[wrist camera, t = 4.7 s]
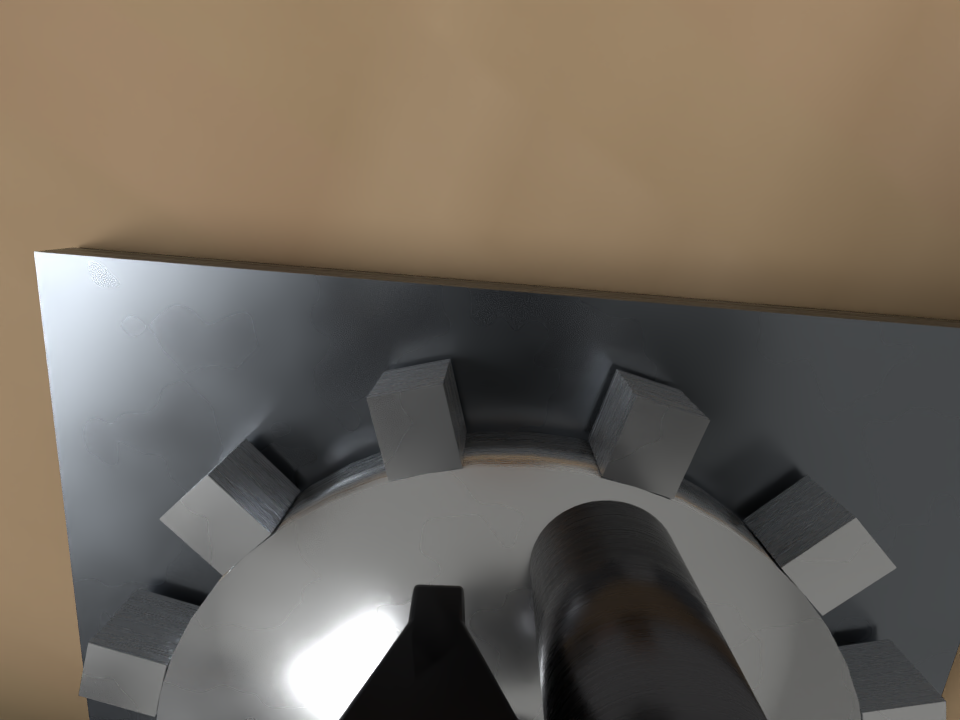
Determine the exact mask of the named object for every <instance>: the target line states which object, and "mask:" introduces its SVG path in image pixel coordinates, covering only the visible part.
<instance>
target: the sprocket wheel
mask: <svg viewBox="0 0 960 720" xmlns="http://www.w3.org/2000/svg"><path fill="white" fill-rule="evenodd" d="M366 399H367V403H368V407H369V410H370V414H371V418H372V421H373V425H374V429H375V433H376V436H377V440H378V444H379V448H380V451H381V452H379V453H377V454H374V455H372V456H369V457H367V458H364V459H361V460H359V461H356V462H354V463H351V464H349V465H347V466H345V467H343V468H341V469H340V470H338V471H336V472H334V473H332V474H331V475H329V476H327V477H325V478H323V479H322V480H320V481H318V482H316V483H314V484H312V485H311V486H310V487H308V488H307V489H306V490H304V491H303V492H302V493H300V494H299V492H300V490H299V489H298V488H297V487H296V486H295V485H294V484H293V483H292V482H291V481H290V480H289V479H288V478H287V477H286V476H285V475H284V474H283V473H282V472H280V471H279V470H278V469H277V468H276V467H275V466H274V465H273V464H272V463H271V462H270V461H269V460H268V459H267V458H266V457H265V456H264V455H263V454H262V453H261V452H260V451H258V450H257V449H256V448H255V447H254V446H253V445H252V444H251V443H250V442H249V441H248V440H247V439H245V440H244V441H243V442H242V443H241V444H240V445H238V446H237V447H236V448H235V449H234V450H233V451H232V452H231V453H230V454H229V455H228V456H226V457H225V458H224V459H223V460H222V461H221V462H220V463H219V464H218V465H217V466H215V467H214V468H213V469H212V470H211V471H210V472H209V473H208V474H207V475H206V476H204V477H203V478H202V479H201V480H200V481H199V482H198V483H197V484H196V485H195V486H194V487H193V488H192V489H191V490H190V491H188V492H187V493H186V494H185V495H184V496H183V497H182V498H181V499H180V500H179V501H178V502H177V503H176V504H175V505H174V506H172V507H171V508H170V509H169V510H168V511H167V512H166V513H165V514H164V515H163V516H162V517H161V518H160V520H161V521H162V522H163V523H164V524H165V525H166V526H167V527H169V528H170V529H171V530H172V531H173V532H174V533H175V534H176V535H178V536H179V537H180V538H181V539H182V540H183V541H184V542H185V543H187V544H188V545H189V546H190V547H191V548H192V549H193V550H194V551H195V552H197V553H198V554H199V555H200V556H201V557H202V558H203V559H204V560H206V561H207V562H208V563H209V564H210V565H211V566H212V567H213V568H215V569H216V570H217V571H218V572H219V573H220V574H221V575H222V577H221V579H220V580H219V581H218V583H217V584H216V585H215V587H214V588H213V590H212V591H211V592H210V594H209V595H208V596H207V598H206V599H205V600H204V602H203V603H202V605H201V606H197V605H194V604H190V603H187V602H183V601H180V600H177V599H173V598H170V597H166V596H163V595H159V594H156V593H153V592H149V591H146V590H142V589H138V590H137V591H136V592H135V593H134V594H133V595H132V596H131V597H130V598H129V599H128V600H127V602H126V603H125V604H124V605H123V606H122V607H121V608H120V609H119V610H118V611H117V612H116V613H115V615H114V616H113V617H112V618H111V619H110V620H109V621H108V622H107V623H106V624H105V625H104V626H103V627H102V629H101V630H100V631H99V632H98V633H97V634H96V635H95V636H94V637H93V638H92V639H91V640H90V642H89V643H88V647H87V652H86V658H85V663H84V668H83V674H82V679H81V685H80V690H79V696H82V697H85V698H89V699H92V700H96V701H100V702H103V703H107V704H110V705H114V706H117V707H121V708H125V709H128V710H132V711H135V712H139V713H142V714H146V715H150V716H153V717H155V716H156V714H157V720H339V718H340V717H341V716H342V714H343V713H344V711H345V710H346V709H347V707H348V706H349V704H350V703H351V702H352V700H353V699H354V697H355V696H356V695H357V693H358V692H359V690H360V689H361V688H362V686H363V685H364V683H365V682H366V681H367V679H368V678H369V676H370V675H371V674H372V672H373V671H374V669H375V668H376V667H377V665H378V664H379V662H380V661H381V660H382V658H383V657H384V655H385V654H386V653H387V651H388V650H389V648H390V647H391V646H392V644H393V643H394V641H395V640H396V639H397V637H398V636H399V634H400V633H401V632H402V630H403V629H404V627H405V626H406V625H407V623H408V619H409V613H410V606H411V600H412V593H413V588H414V587H415V586H416V585H418V584H427V585H455V586H461V587H463V589H464V598H465V625H466V627H467V629H468V630H469V632H470V634H471V636H472V638H473V639H474V641H475V643H476V645H477V647H478V648H479V650H480V652H481V654H482V656H483V657H484V659H485V661H486V663H487V665H488V666H489V668H490V670H491V672H492V674H493V675H494V677H495V679H496V681H497V683H498V684H499V686H500V688H501V690H502V691H503V693H504V695H505V697H506V699H507V700H508V702H509V704H510V706H511V708H512V709H513V711H514V713H515V715H516V717H517V718H518V720H946V701H945V700H944V699H943V697H942V696H941V695H940V694H939V693H938V692H937V691H936V690H935V689H934V688H933V686H932V685H931V684H930V683H929V682H928V681H927V680H926V679H925V678H924V677H923V675H922V674H921V673H920V672H919V671H918V670H917V669H916V668H915V667H914V665H913V664H912V663H911V662H910V661H909V660H908V659H907V658H906V657H905V656H904V654H903V653H902V652H901V651H900V650H899V649H898V648H897V647H896V646H895V645H894V643H893V642H892V641H891V640H890V639H885V640H878V641H872V642H865V643H858V644H851V645H844V646H837V644H836V642H835V640H834V638H833V636H832V634H831V632H830V630H829V628H828V627H827V625H826V624H825V623H824V621H823V620H822V618H821V617H820V616H819V614H818V613H817V612H816V610H815V609H814V608H813V606H812V605H811V604H810V602H811V603H812V604H813V605H814V607H815V608H816V609H817V610H818V611H819V612H820V613H821V615H822V616H823V615H824V614H826V613H828V612H829V611H831V610H832V609H834V608H835V607H837V606H838V605H840V604H841V603H843V602H845V601H846V600H848V599H849V598H851V597H852V596H854V595H855V594H857V593H859V592H860V591H862V590H863V589H865V588H866V587H868V586H869V585H871V584H872V583H874V582H876V581H877V580H879V579H880V578H882V577H883V576H885V575H886V574H888V573H890V572H891V571H893V570H894V569H896V566H895V565H894V564H893V563H892V561H891V560H890V559H889V558H888V556H887V555H886V554H885V553H884V551H883V550H882V549H881V548H880V547H879V545H878V544H877V543H876V542H875V540H874V539H873V538H872V537H871V535H870V534H869V533H868V532H867V531H866V529H865V528H864V527H863V526H862V524H861V523H860V522H859V521H858V519H857V518H856V517H855V516H854V515H852V514H851V513H850V512H849V511H848V510H847V509H846V508H844V507H843V506H842V505H841V504H840V503H839V502H838V501H836V500H835V499H834V498H833V497H832V496H831V495H829V494H828V493H827V492H826V491H825V490H824V489H823V488H821V487H820V486H819V485H818V484H817V483H816V482H815V481H813V480H812V479H811V478H810V477H809V476H808V475H806V476H805V477H803V478H802V479H801V480H799V481H798V482H796V483H795V484H793V485H792V486H791V487H789V488H788V489H786V490H785V491H783V492H782V493H781V494H779V495H778V496H776V497H775V498H774V499H772V500H771V501H769V502H768V503H766V504H765V505H764V506H762V507H761V508H759V509H758V510H756V511H755V512H754V513H752V514H751V515H749V516H748V517H746V518H745V519H744V521H745V523H746V524H747V525H748V526H749V528H750V529H751V530H752V531H753V532H752V531H751V530H750V529H749V528H748V527H747V526H746V525H745V524H744V523H743V522H742V521H741V520H740V519H739V518H738V517H737V516H736V515H735V514H734V513H733V512H732V511H730V510H729V509H728V508H726V507H725V506H724V505H722V504H721V503H720V502H718V501H717V500H716V499H714V498H713V497H712V496H710V495H709V494H708V493H706V492H705V491H704V490H702V489H701V488H700V487H698V486H696V485H695V484H693V483H691V482H689V481H687V480H686V479H684V476H685V473H686V471H687V469H688V467H689V465H690V463H691V461H692V458H693V456H694V454H695V452H696V450H697V448H698V446H699V443H700V441H701V439H702V437H703V435H704V433H705V431H706V428H707V426H708V424H709V422H710V420H709V419H708V418H707V417H706V416H705V415H704V414H703V413H702V412H701V411H700V410H699V409H698V408H697V407H696V406H695V405H694V404H693V403H692V402H691V401H690V400H689V399H688V398H687V397H686V396H685V394H684V393H683V392H682V391H681V390H679V389H675V388H672V387H669V386H666V385H663V384H660V383H657V382H654V381H651V380H648V379H645V378H642V377H639V376H636V375H633V374H630V373H627V372H624V371H621V370H618V369H616V372H615V374H614V377H613V379H612V381H611V384H610V386H609V389H608V391H607V394H606V396H605V398H604V401H603V403H602V406H601V408H600V411H599V413H598V415H597V418H596V420H595V423H594V425H593V428H592V430H591V433H590V435H589V437H588V441H585V440H581V439H577V438H572V437H564V436H556V435H548V434H540V433H532V432H474V433H467V431H466V426H465V422H464V417H463V413H462V409H461V404H460V400H459V395H458V391H457V386H456V382H455V378H454V373H453V369H452V364H451V360H450V359H445V360H440V361H435V362H429V363H424V364H419V365H414V366H409V367H404V368H398V369H393V370H388V371H384V372H383V374H382V375H381V377H380V378H379V380H378V382H377V383H376V385H375V386H374V388H373V389H372V391H371V392H370V394H369V395H368V397H367V398H366ZM298 494H299V495H298ZM805 596H806V597H807V598H808V599H807V598H806V597H805ZM808 600H809V601H810V602H809V601H808Z"/></svg>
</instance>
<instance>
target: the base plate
mask: <svg viewBox="0 0 960 720" xmlns="http://www.w3.org/2000/svg"><path fill="white" fill-rule="evenodd" d="M34 256H35V264H36V273H37V281H38V289H39V298H40V306H41V315H42V323H43V332H44V340H45V349H46V357H47V365H48V374H49V382H50V391H51V399H52V408H53V416H54V424H55V433H56V441H57V450H58V458H59V467H60V475H61V483H62V492H63V500H64V509H65V517H66V526H67V534H68V543H69V551H70V559H71V568H72V576H73V585H74V593H75V602H76V610H77V618H78V627H79V635H80V644H81V652H82V661H83V668H84V663H85V658H86V652H87V647H88V643H89V642H90V640H91V639H92V638H93V637H94V636H95V635H96V634H97V633H98V632H99V631H100V630H101V629H102V627H103V626H104V625H105V624H106V623H107V622H108V621H109V620H110V619H111V618H112V617H113V616H114V615H115V613H116V612H117V611H118V610H119V609H120V608H121V607H122V606H123V605H124V604H125V603H126V602H127V600H128V599H129V598H130V597H131V596H132V595H133V594H134V593H135V592H136V591H137V590H138V589H142V590H146V591H149V592H153V593H156V594H159V595H163V596H166V597H170V598H173V599H177V600H180V601H183V602H187V603H190V604H194V605H197V606H201V605H202V603H203V602H204V600H205V599H206V598H207V596H208V595H209V594H210V592H211V591H212V590H213V588H214V587H215V585H216V584H217V583H218V581H219V580H220V579H221V577H222V575H221V574H220V573H219V572H218V571H217V570H216V569H215V568H213V567H212V566H211V565H210V564H209V563H208V562H207V561H206V560H204V559H203V558H202V557H201V556H200V555H199V554H198V553H197V552H195V551H194V550H193V549H192V548H191V547H190V546H189V545H188V544H187V543H185V542H184V541H183V540H182V539H181V538H180V537H179V536H178V535H176V534H175V533H174V532H173V531H172V530H171V529H170V528H169V527H167V526H166V525H165V524H164V523H163V522H162V521H161V520H160V518H161V517H162V516H163V515H164V514H165V513H166V512H167V511H168V510H169V509H170V508H171V507H172V506H174V505H175V504H176V503H177V502H178V501H179V500H180V499H181V498H182V497H183V496H184V495H185V494H186V493H187V492H188V491H190V490H191V489H192V488H193V487H194V486H195V485H196V484H197V483H198V482H199V481H200V480H201V479H202V478H203V477H204V476H206V475H207V474H208V473H209V472H210V471H211V470H212V469H213V468H214V467H215V466H217V465H218V464H219V463H220V462H221V461H222V460H223V459H224V458H225V457H226V456H228V455H229V454H230V453H231V452H232V451H233V450H234V449H235V448H236V447H237V446H238V445H240V444H241V443H242V442H243V441H244V440H245V439H247V440H248V441H249V442H250V443H251V444H252V445H253V446H254V447H255V448H256V449H257V450H258V451H260V452H261V453H262V454H263V455H264V456H265V457H266V458H267V459H268V460H269V461H270V462H271V463H272V464H273V465H274V466H275V467H276V468H277V469H278V470H279V471H280V472H282V473H283V474H284V475H285V476H286V477H287V478H288V479H289V480H290V481H291V482H292V483H293V484H294V485H295V486H296V487H297V488H298V489H299V490H300V492H299V494H300V493H302V492H303V491H304V490H306V489H307V488H308V487H310V486H311V485H312V484H314V483H316V482H318V481H320V480H322V479H323V478H325V477H327V476H329V475H331V474H332V473H334V472H336V471H338V470H340V469H341V468H343V467H345V466H347V465H349V464H351V463H354V462H356V461H359V460H361V459H364V458H367V457H369V456H372V455H374V454H377V453H379V452H381V451H380V448H379V444H378V440H377V436H376V433H375V429H374V425H373V421H372V418H371V414H370V410H369V407H368V403H367V399H366V398H367V397H368V395H369V394H370V392H371V391H372V389H373V388H374V386H375V385H376V383H377V382H378V380H379V378H380V377H381V375H382V374H383V372H384V371H388V370H393V369H398V368H404V367H409V366H414V365H419V364H424V363H429V362H435V361H440V360H445V359H450V360H451V364H452V369H453V373H454V378H455V382H456V386H457V391H458V395H459V400H460V404H461V409H462V413H463V417H464V422H465V426H466V431H467V433H474V432H532V433H540V434H548V435H556V436H564V437H572V438H577V439H581V440H585V441H588V437H589V435H590V433H591V430H592V428H593V425H594V423H595V420H596V418H597V415H598V413H599V411H600V408H601V406H602V403H603V401H604V398H605V396H606V394H607V391H608V389H609V386H610V384H611V381H612V379H613V377H614V374H615V372H616V369H618V370H621V371H624V372H627V373H630V374H633V375H636V376H639V377H642V378H645V379H648V380H651V381H654V382H657V383H660V384H663V385H666V386H669V387H672V388H675V389H679V390H681V391H682V392H683V393H684V394H685V396H686V397H687V398H688V399H689V400H690V401H691V402H692V403H693V404H694V405H695V406H696V407H697V408H698V409H699V410H700V411H701V412H702V413H703V414H704V415H705V416H706V417H707V418H708V419H709V420H710V422H709V424H708V426H707V428H706V431H705V433H704V435H703V437H702V439H701V441H700V443H699V446H698V448H697V450H696V452H695V454H694V456H693V458H692V461H691V463H690V465H689V467H688V469H687V471H686V473H685V476H684V479H686V480H687V481H689V482H691V483H693V484H695V485H696V486H698V487H700V488H701V489H702V490H704V491H705V492H706V493H708V494H709V495H710V496H712V497H713V498H714V499H716V500H717V501H718V502H720V503H721V504H722V505H724V506H725V507H726V508H728V509H729V510H730V511H732V512H733V513H734V514H735V515H736V516H737V517H738V518H739V519H740V520H741V521H742V522H743V523H744V524H745V525H746V526H747V527H748V528H749V526H748V525H747V524H746V523H745V521H744V519H745V518H746V517H748V516H749V515H751V514H752V513H754V512H755V511H756V510H758V509H759V508H761V507H762V506H764V505H765V504H766V503H768V502H769V501H771V500H772V499H774V498H775V497H776V496H778V495H779V494H781V493H782V492H783V491H785V490H786V489H788V488H789V487H791V486H792V485H793V484H795V483H796V482H798V481H799V480H801V479H802V478H803V477H805V476H806V475H808V476H809V477H810V478H811V479H812V480H813V481H815V482H816V483H817V484H818V485H819V486H820V487H821V488H823V489H824V490H825V491H826V492H827V493H828V494H829V495H831V496H832V497H833V498H834V499H835V500H836V501H838V502H839V503H840V504H841V505H842V506H843V507H844V508H846V509H847V510H848V511H849V512H850V513H851V514H852V515H854V516H855V517H856V518H857V519H858V521H859V522H860V523H861V524H862V526H863V527H864V528H865V529H866V531H867V532H868V533H869V534H870V535H871V537H872V538H873V539H874V540H875V542H876V543H877V544H878V545H879V547H880V548H881V549H882V550H883V551H884V553H885V554H886V555H887V556H888V558H889V559H890V560H891V561H892V563H893V564H894V565H895V566H896V569H894V570H893V571H891V572H890V573H888V574H886V575H885V576H883V577H882V578H880V579H879V580H877V581H876V582H874V583H872V584H871V585H869V586H868V587H866V588H865V589H863V590H862V591H860V592H859V593H857V594H855V595H854V596H852V597H851V598H849V599H848V600H846V601H845V602H843V603H841V604H840V605H838V606H837V607H835V608H834V609H832V610H831V611H829V612H828V613H826V614H824V615H823V616H822V615H821V613H820V612H819V611H818V610H817V609H816V608H815V607H814V605H813V604H812V603H811V602H810V601H809V600H808V601H809V602H810V604H811V605H812V606H813V608H814V609H815V610H816V612H817V613H818V614H819V616H820V617H821V618H822V620H823V621H824V623H825V624H826V625H827V627H828V628H829V630H830V632H831V634H832V636H833V638H834V640H835V642H836V644H837V646H844V645H851V644H858V643H865V642H872V641H878V640H885V639H890V640H891V641H892V642H893V643H894V645H895V646H896V647H897V648H898V649H899V650H900V651H901V652H902V653H903V654H904V656H905V657H906V658H907V659H908V660H909V661H910V662H911V663H912V664H913V665H914V667H915V668H916V669H917V670H918V671H919V672H920V673H921V674H922V675H923V677H924V678H925V679H926V680H927V681H928V682H929V683H930V684H931V685H932V686H933V688H934V689H935V690H936V691H937V692H938V693H939V694H940V695H942V692H943V690H944V687H945V684H946V681H947V678H948V675H949V672H950V670H951V667H952V664H953V661H954V658H955V655H956V652H957V650H958V647H959V644H960V321H958V320H946V319H934V318H922V317H910V316H898V315H886V314H874V313H861V312H849V311H837V310H825V309H813V308H801V307H789V306H776V305H764V304H752V303H740V302H728V301H716V300H704V299H692V298H679V297H667V296H655V295H643V294H631V293H619V292H607V291H595V290H582V289H570V288H558V287H546V286H534V285H522V284H510V283H498V282H485V281H473V280H461V279H449V278H437V277H425V276H413V275H400V274H388V273H376V272H364V271H352V270H340V269H328V268H316V267H303V266H291V265H279V264H267V263H255V262H243V261H231V260H219V259H206V258H194V257H182V256H170V255H158V254H146V253H134V252H121V251H109V250H97V249H85V248H65V249H56V250H46V251H36V252H34ZM299 494H298V495H299ZM749 529H750V528H749ZM750 530H751V529H750ZM751 531H752V530H751ZM752 532H753V531H752ZM805 597H806V596H805ZM806 598H807V597H806ZM807 599H808V598H807ZM87 703H88V711H89V720H157V714H156V716H155V717H153V716H150V715H146V714H142V713H139V712H135V711H132V710H128V709H125V708H121V707H117V706H114V705H110V704H107V703H103V702H100V701H96V700H92V699H89V698H87Z"/></svg>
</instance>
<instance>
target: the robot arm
mask: <svg viewBox="0 0 960 720" xmlns="http://www.w3.org/2000/svg"><path fill="white" fill-rule="evenodd" d="M339 720H518V718H517V717H516V715H515V713H514V711H513V709H512V708H511V706H510V704H509V702H508V700H507V699H506V697H505V695H504V693H503V691H502V690H501V688H500V686H499V684H498V683H497V681H496V679H495V677H494V675H493V674H492V672H491V670H490V668H489V666H488V665H487V663H486V661H485V659H484V657H483V656H482V654H481V652H480V650H479V648H478V647H477V645H476V643H475V641H474V639H473V638H472V636H471V634H470V632H469V630H468V629H467V627H466V625H465V598H464V589H463V587H461V586H455V585H427V584H418V585H416V586H415V587H414V588H413V593H412V600H411V606H410V613H409V619H408V623H407V625H406V626H405V627H404V629H403V630H402V632H401V633H400V634H399V636H398V637H397V639H396V640H395V641H394V643H393V644H392V646H391V647H390V648H389V650H388V651H387V653H386V654H385V655H384V657H383V658H382V660H381V661H380V662H379V664H378V665H377V667H376V668H375V669H374V671H373V672H372V674H371V675H370V676H369V678H368V679H367V681H366V682H365V683H364V685H363V686H362V688H361V689H360V690H359V692H358V693H357V695H356V696H355V697H354V699H353V700H352V702H351V703H350V704H349V706H348V707H347V709H346V710H345V711H344V713H343V714H342V716H341V717H340V718H339Z"/></svg>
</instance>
